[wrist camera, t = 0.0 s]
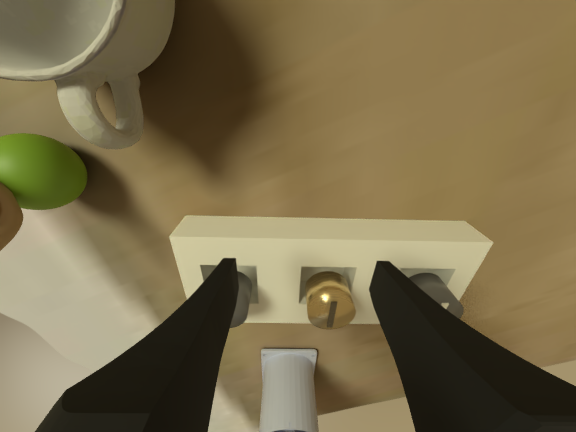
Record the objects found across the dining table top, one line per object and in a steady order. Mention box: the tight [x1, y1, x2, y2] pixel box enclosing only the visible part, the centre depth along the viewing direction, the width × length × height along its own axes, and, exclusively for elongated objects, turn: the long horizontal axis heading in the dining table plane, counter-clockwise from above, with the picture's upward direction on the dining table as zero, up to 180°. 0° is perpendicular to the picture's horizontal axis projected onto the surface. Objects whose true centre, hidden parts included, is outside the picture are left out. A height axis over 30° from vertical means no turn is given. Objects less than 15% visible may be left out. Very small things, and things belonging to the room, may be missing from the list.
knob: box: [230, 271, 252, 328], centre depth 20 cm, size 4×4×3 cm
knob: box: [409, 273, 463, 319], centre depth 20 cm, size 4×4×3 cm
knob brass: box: [305, 271, 356, 329], centre depth 20 cm, size 4×4×3 cm
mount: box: [169, 215, 494, 324], centre depth 23 cm, size 11×27×4 cm, turn 88°
